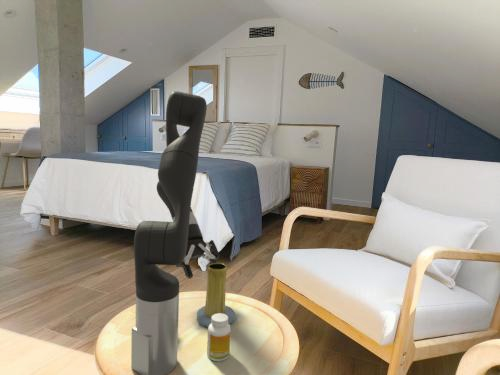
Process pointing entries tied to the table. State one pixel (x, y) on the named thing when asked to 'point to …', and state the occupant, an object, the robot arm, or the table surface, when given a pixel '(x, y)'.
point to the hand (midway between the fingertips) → (203, 274)
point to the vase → (215, 289)
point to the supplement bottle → (218, 338)
